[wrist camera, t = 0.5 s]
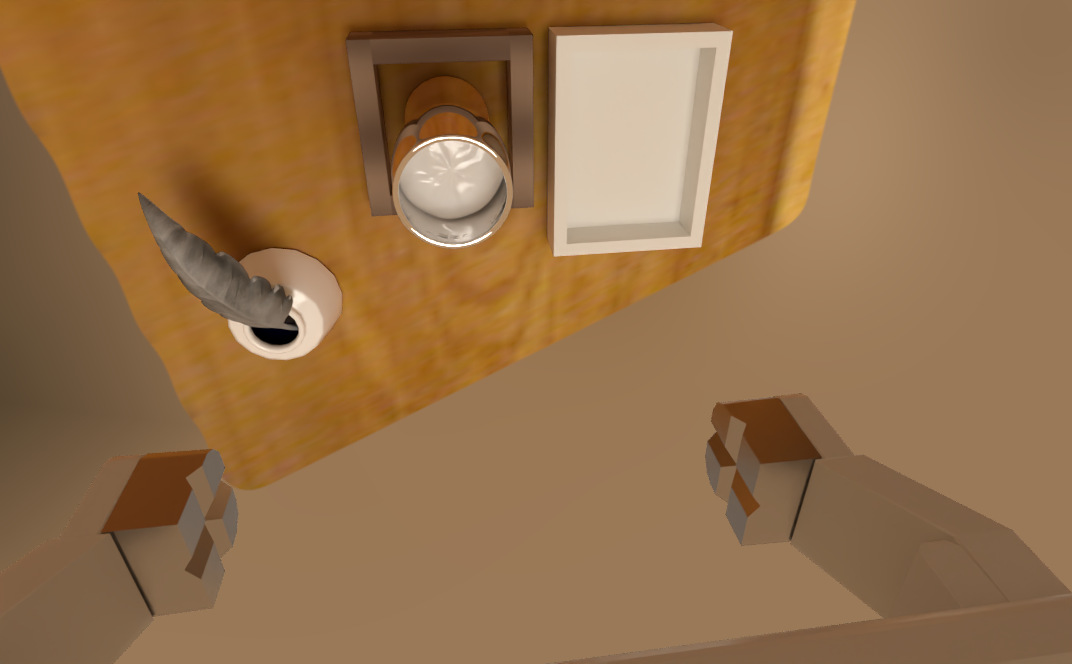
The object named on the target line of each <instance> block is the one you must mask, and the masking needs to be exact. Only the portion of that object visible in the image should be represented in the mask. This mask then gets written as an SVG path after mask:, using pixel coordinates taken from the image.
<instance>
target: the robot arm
mask: <svg viewBox="0 0 1072 664" xmlns="http://www.w3.org/2000/svg"><path fill="white" fill-rule="evenodd" d="M711 422H712V424H713V426H714V428H715V430H716V431H717V432H716V433H715V434H714V435H713V436H712V437H711V438H710V439H709V440H708V441H707V448H706V455H705V458H706V468H707V473H708V477H709V480H710V484H711V486H712V488H713V490H714V492H715V494H716V495H717V496H718V497H720V498H721V499H723V500H725V501H726V502H728V505H727V510H726V516H727V519H728V520H729V523H730V525H731V526H732V528H733V530H734V532H735V534H736V536H737V538H738V540H739V542H740V544H741V546H744V545H756V544H767V543H778V542H789V541H791V543H790V544H791V545H793V546H794V547H795V548H796V549H798V550H799V551H800V552H801V553H803V554H804V555H805V556H806V557H808V558H809V559H810V560H811V561H813V562H814V563H815V564H816V565H818V566H819V567H820V568H821V569H823V570H824V571H825V572H826V573H828V574H829V575H830V576H832V577H833V578H834V579H835V580H836V581H838V582H839V583H840V584H842V585H843V586H844V587H845V588H847V589H848V590H849V591H850V592H852V593H853V594H854V595H855V596H857V597H858V598H859V599H860V600H862V601H863V602H864V603H865V604H867V605H868V606H869V607H871V608H872V609H873V610H874V611H875V612H877V613H878V614H879V615H880V616H882V617H883V619H876V620H869V621H861V622H854V623H846V624H839V625H831V626H824V627H816V628H809V629H801V630H795V631H786V632H779V633H772V634H764V635H756V636H749V637H742V638H735V639H727V640H719V641H712V642H705V643H697V644H689V645H682V646H674V647H668V648H660V649H652V650H645V651H638V652H630V653H622V654H616V655H608V656H601V657H593V658H586V659H578V660H570V661H564V662H555V663H548V664H1072V593H1071V591H1069V589H1068V588H1067V587H1066V586H1065V585H1064V584H1063V583H1062V582H1061V581H1060V580H1059V579H1058V578H1057V577H1056V576H1055V575H1054V574H1053V572H1052V571H1051V570H1050V569H1049V568H1048V567H1047V566H1046V565H1045V564H1044V563H1043V562H1042V561H1041V560H1040V559H1039V558H1038V557H1037V555H1035V553H1033V551H1032V550H1031V549H1030V548H1029V547H1028V546H1027V545H1026V544H1025V543H1024V542H1023V541H1022V540H1021V539H1020V538H1019V537H1018V535H1017V534H1016V533H1015V532H1014V531H1013V530H1011V529H1009V528H1007V527H1005V526H1003V525H1001V524H999V523H997V522H995V521H993V520H991V519H989V518H987V517H986V516H984V515H982V514H980V513H977V512H976V511H974V510H972V509H970V508H968V507H966V506H964V505H962V504H960V503H958V502H956V501H954V500H952V499H950V498H948V497H946V496H944V495H942V494H940V493H938V492H936V491H934V490H932V489H930V488H928V487H926V486H924V485H922V484H920V483H918V482H916V481H914V480H912V479H910V478H908V477H906V476H904V475H902V474H901V473H898V472H897V471H894V470H893V469H890V468H889V467H887V466H885V465H883V464H881V463H879V462H877V461H875V460H873V459H871V458H869V457H867V456H865V455H856V456H855V455H854V454H853V452H852V451H851V450H850V449H849V447H848V446H847V445H846V444H845V443H844V441H843V440H842V439H841V437H840V436H839V435H838V434H837V432H836V431H835V430H834V429H833V427H832V426H831V425H830V424H829V422H828V421H827V420H826V419H825V417H824V416H823V415H822V414H821V412H820V411H819V410H818V409H817V407H816V406H815V405H814V404H813V402H812V401H811V400H810V399H809V397H808V396H806V395H804V394H802V393H799V394H791V395H781V396H774V397H769V398H759V399H749V400H738V401H728V402H718V403H717V404H716V406H715V407H714V409H713V413H712V418H711ZM224 469H225V466H224V463H223V461H222V458H221V456H220V453H219V452H218V451H216V450H214V449H206V450H192V451H178V452H165V453H149V454H146V455H129V456H115V457H112V458H110V459H109V460H107V461H106V462H105V463H104V464H103V466H102V467H101V469H100V470H99V472H98V474H97V475H96V477H95V479H94V480H93V482H92V484H91V485H90V487H89V489H88V490H87V492H86V494H85V495H84V497H83V499H82V500H81V502H80V504H79V506H78V507H77V509H76V510H75V512H74V514H73V516H72V517H71V519H70V520H69V522H68V524H67V525H66V527H65V529H64V530H63V532H62V534H61V536H60V537H59V539H50V540H47V541H45V542H44V543H42V544H41V545H39V546H38V547H37V548H35V549H34V550H33V551H31V552H30V553H28V554H27V555H25V556H24V557H22V558H21V559H19V560H18V561H17V562H15V563H14V564H12V565H11V566H9V567H8V568H7V569H5V570H4V571H2V572H1V573H0V664H113V663H115V661H116V660H117V659H118V658H119V657H120V656H121V655H122V654H123V653H124V652H125V651H126V649H127V648H128V647H129V646H130V645H131V644H132V643H133V642H134V641H135V640H136V639H137V638H138V636H139V635H140V634H141V633H142V632H143V631H144V630H145V629H146V628H147V627H148V626H149V625H150V623H151V622H152V621H153V620H154V619H153V617H155V616H162V615H169V614H176V613H182V612H190V611H196V610H203V609H210V608H213V607H214V604H215V601H216V598H217V594H218V591H219V588H220V585H221V582H222V579H223V576H224V572H225V570H224V567H223V564H222V562H221V559H220V558H221V557H222V556H223V555H224V554H225V553H226V552H228V551H229V550H230V549H231V548H232V547H233V543H234V539H235V536H236V533H237V522H238V521H237V520H238V509H237V502H236V498H235V495H234V492H233V489H232V488H231V487H230V486H228V485H227V484H225V483H224V482H223V481H221V478H222V475H223V472H224Z"/></svg>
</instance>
